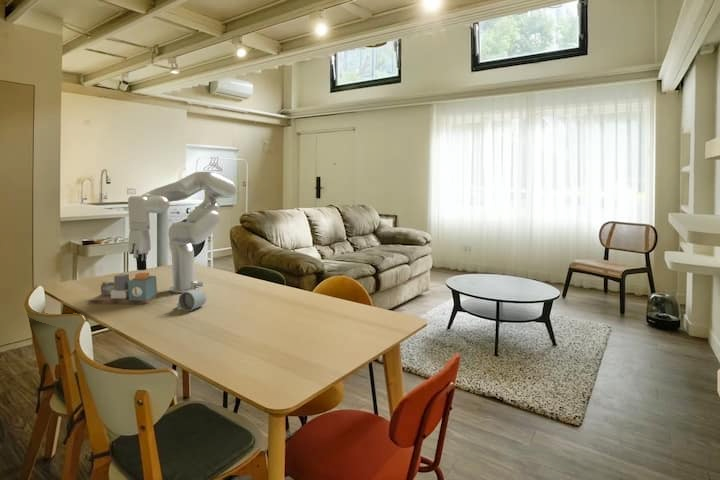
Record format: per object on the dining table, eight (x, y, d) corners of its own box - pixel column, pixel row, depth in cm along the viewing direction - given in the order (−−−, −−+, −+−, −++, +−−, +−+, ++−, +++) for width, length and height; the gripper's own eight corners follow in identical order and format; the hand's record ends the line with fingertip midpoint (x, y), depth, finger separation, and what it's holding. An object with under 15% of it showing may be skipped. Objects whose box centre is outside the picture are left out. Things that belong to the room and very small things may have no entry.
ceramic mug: (208, 306, 173) (207, 287, 172) (194, 312, 165) (193, 292, 164) (186, 304, 176) (185, 286, 175) (172, 309, 168) (170, 290, 167)
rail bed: (157, 297, 185) (156, 282, 184) (146, 303, 175) (145, 287, 174) (102, 297, 184) (101, 281, 183) (89, 303, 174) (88, 287, 173)
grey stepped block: (134, 294, 183) (132, 273, 181) (125, 298, 176) (124, 277, 174) (119, 294, 182) (118, 273, 181) (111, 298, 175) (109, 277, 174)
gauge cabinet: (157, 293, 185) (156, 275, 183) (145, 300, 174) (144, 281, 173) (140, 293, 184) (139, 275, 183) (128, 300, 174) (127, 281, 173)
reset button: (149, 279, 181) (149, 272, 180) (145, 281, 177) (144, 274, 176) (139, 279, 180) (139, 272, 180) (135, 281, 176) (135, 274, 176)
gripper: (138, 224, 183) (140, 266, 185) (121, 227, 168) (123, 273, 170) (156, 224, 183) (158, 266, 185) (140, 228, 168) (142, 273, 171)
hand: (141, 269), depth 178 cm, fingers closed
